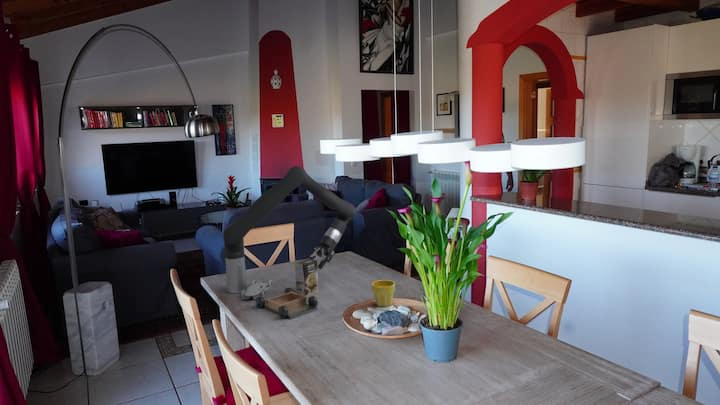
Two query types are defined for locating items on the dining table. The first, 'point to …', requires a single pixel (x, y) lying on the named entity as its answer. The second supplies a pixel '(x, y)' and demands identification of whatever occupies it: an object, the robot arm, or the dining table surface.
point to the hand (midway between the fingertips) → (313, 266)
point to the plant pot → (383, 292)
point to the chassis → (289, 304)
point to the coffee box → (306, 277)
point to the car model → (256, 290)
